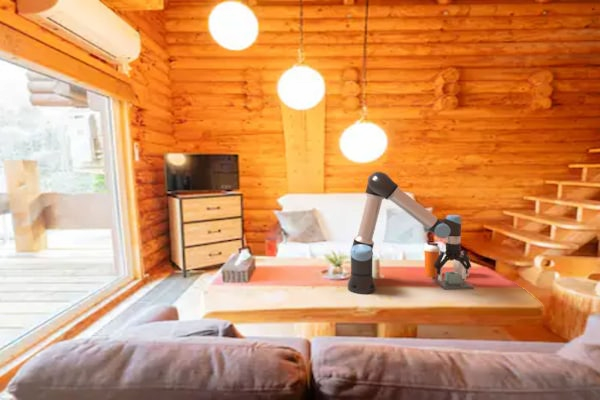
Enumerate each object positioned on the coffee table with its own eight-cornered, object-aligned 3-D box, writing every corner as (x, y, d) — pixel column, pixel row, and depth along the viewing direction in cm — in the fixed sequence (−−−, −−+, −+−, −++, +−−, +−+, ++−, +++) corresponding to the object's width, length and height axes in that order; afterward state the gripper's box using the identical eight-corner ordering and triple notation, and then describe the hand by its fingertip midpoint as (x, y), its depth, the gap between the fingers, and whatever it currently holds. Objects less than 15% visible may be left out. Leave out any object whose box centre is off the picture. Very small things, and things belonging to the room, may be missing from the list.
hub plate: (444, 289, 175) (444, 279, 175) (431, 279, 191) (432, 270, 191) (473, 289, 176) (474, 279, 175) (458, 279, 192) (459, 269, 191)
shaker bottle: (436, 278, 193) (437, 245, 191) (421, 275, 198) (422, 243, 196) (440, 274, 200) (441, 242, 198) (425, 271, 206) (426, 240, 204)
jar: (465, 278, 193) (466, 258, 191) (451, 275, 198) (452, 256, 197) (470, 274, 199) (471, 255, 197) (457, 271, 205) (457, 253, 203)
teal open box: (444, 280, 186) (444, 271, 185) (455, 279, 186) (455, 270, 186) (449, 283, 180) (450, 274, 179) (460, 283, 180) (460, 274, 180)
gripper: (433, 244, 177) (432, 282, 179) (479, 243, 178) (477, 281, 180) (428, 241, 185) (427, 277, 187) (471, 240, 185) (470, 277, 187)
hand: (451, 279), depth 183 cm, fingers open, 13 cm apart
